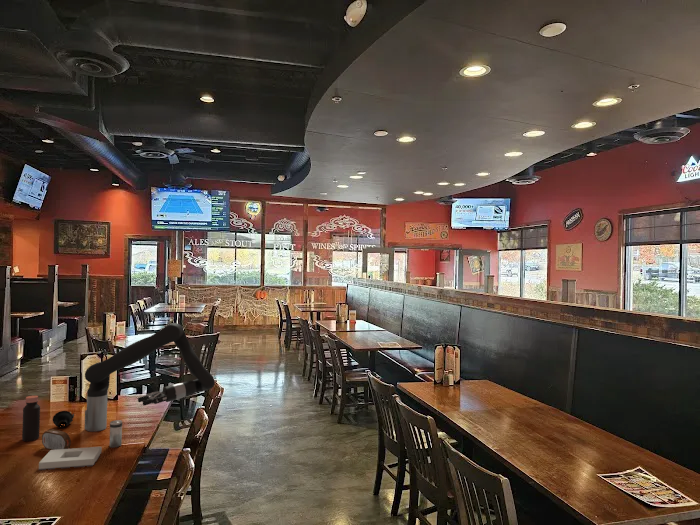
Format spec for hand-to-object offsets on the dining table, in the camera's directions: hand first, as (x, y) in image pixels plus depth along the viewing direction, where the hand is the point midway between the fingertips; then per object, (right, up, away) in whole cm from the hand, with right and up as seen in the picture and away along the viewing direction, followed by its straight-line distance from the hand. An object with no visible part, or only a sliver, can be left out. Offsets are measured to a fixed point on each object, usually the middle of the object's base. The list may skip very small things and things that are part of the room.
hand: (140, 401), depth 229 cm
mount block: (-18, -18, -26) cm, 36 cm away
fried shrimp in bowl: (-48, -18, +20) cm, 55 cm away
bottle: (-52, -17, -2) cm, 54 cm away
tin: (-32, -18, -14) cm, 39 cm away
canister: (-8, -18, -7) cm, 21 cm away
